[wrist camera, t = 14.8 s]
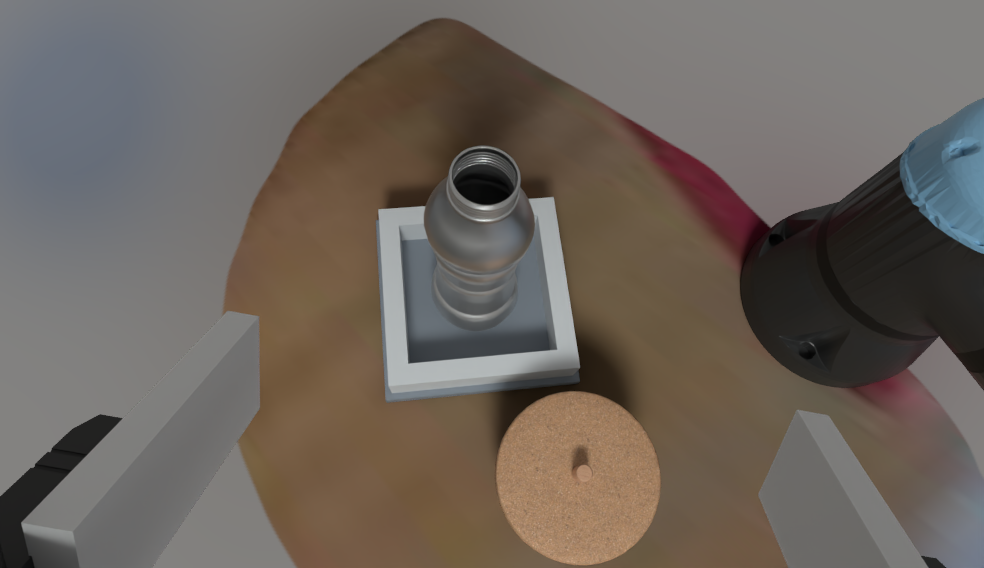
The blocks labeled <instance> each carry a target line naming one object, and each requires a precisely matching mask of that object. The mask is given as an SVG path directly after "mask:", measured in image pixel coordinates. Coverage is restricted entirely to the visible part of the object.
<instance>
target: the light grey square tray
mask: <svg viewBox="0 0 984 568" xmlns="http://www.w3.org/2000/svg"><path fill="white" fill-rule="evenodd" d="M529 202H530V204H531V207H532V210H533V213H534V218H535V230H534V235H533V238H532V241H531V244H530V246H529V248H528V250H527V251H526V253H525V255H524V256H523V257H522V259H521V260H520V262H519V263H518V264H517V267H516V269H515V274H516V278H517V286H518V296H517V301H516V304H515V306H514V308H513V310H512V312H511V313H510V314H509V315H508V316H507V317H506V319H505V320H503V321H502V322H501V323H500V324H498V325H497V326H495V327H493V328H491V329H488V330H484V331H468V330H463V329H460V328H458V327H456V326H454V325H452V324H451V323H449V322H448V321H447V320H446V319H445V318H444V317H443V316H442V314H441V313H440V312H439V310H438V309H437V307H436V305H435V303H434V301H433V298H432V294H431V282H432V277H433V273H434V270H435V268H436V265H437V260H436V256H435V253H434V251H433V249H432V247H431V245H430V243H429V241H428V238H427V235H426V231H425V227H424V211H425V206H420V207H405V208H391V209H378V210H379V220H376V232H377V250H378V268H379V286H380V305H381V323H382V341H383V359H384V378H385V396H386V402H387V403H388V402H398V401H408V400H418V399H428V398H438V397H448V396H458V395H468V394H478V393H488V392H499V391H509V390H519V389H529V388H539V387H549V386H559V385H569V384H578V383H579V382H580V378H579V371H578V370H579V369H580V362H579V356H578V349H577V343H576V337H575V330H574V324H573V318H572V311H571V305H570V299H569V292H568V286H567V279H566V273H565V267H564V260H563V254H562V248H561V241H560V235H559V229H558V222H557V216H556V210H555V203H554V197H548V198H534V199H529Z"/></svg>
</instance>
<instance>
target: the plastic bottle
mask: <svg viewBox="0 0 984 568" xmlns="http://www.w3.org/2000/svg"><path fill="white" fill-rule="evenodd" d="M520 184H521V177H520V171H519V168H518V166H517V164H516V162H515V161H514V160H513V159H512V157H511V156H509V155H508V154H507V153H506V152H504V151H502V150H500V149H498V148H495V147H491V146H474V147H471V148H468V149H466V150H464V151H462V152H461V153H459V154H458V155H457V156H456V157H455V159H454V160H453V162H452V164H451V166H450V169H449V174H448V177H446V178H445V179H443V180H442V181H441V182H440V183H439V184H438V185H437V186H436V188H435V189H434V191H433V192H432V194H431V195H430V197H429V199H428V201H427V204H426V206H425V211H424V227H425V231H426V235H427V238H428V241H429V243H430V245H431V247H432V249H433V251H434V253H435V256H436V260H437V265H436V268H435V270H434V273H433V277H432V282H431V294H432V298H433V301H434V303H435V305H436V307H437V309H438V310H439V312H440V313H441V314H442V316H443V317H444V318H445V319H446V320H447V321H448V322H449V323H451V324H452V325H454V326H456V327H458V328H460V329H463V330H468V331H484V330H488V329H491V328H493V327H495V326H497V325H498V324H500V323H501V322H502V321H503V320H505V319H506V317H507V316H508V315H509V314H510V313H511V312H512V310H513V308H514V306H515V304H516V301H517V296H518V286H517V278H516V274H515V269H516V267H517V264H518V263H519V262H520V260H521V259H522V257H523V256H524V255H525V253H526V251H527V250H528V248H529V246H530V244H531V241H532V238H533V235H534V230H535V218H534V213H533V210H532V207H531V204H530V202H529V199H528V198H527V196H526V194H525V192H524V191H523V190H522V189H521V187H520Z"/></svg>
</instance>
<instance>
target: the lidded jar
mask: <svg viewBox="0 0 984 568" xmlns="http://www.w3.org/2000/svg"><path fill="white" fill-rule="evenodd" d="M495 484H496V492H497V496H498V499H499V503H500V506H501V508H502V510H503V513H504V515H505V517H506V519H507V521H508V522H509V524H510V525H511V527H512V529H513V530H514V531H515V532H516V533H517V535H518V536H519V537H520V538H521V539H522V540H523V541H524V542H525V543H526V544H528V545H529V546H530V547H531V548H532V549H534V550H535V551H537V552H539V553H540V554H542V555H544V556H545V557H548V558H550V559H553V560H555V561H558V562H562V563H567V564H571V565H592V564H599V563H602V562H605V561H609V560H612V559H614V558H616V557H618V556H619V555H621V554H623V553H625V552H626V551H627V550H629V549H630V548H631V547H632V546H634V545H635V544H636V543H637V542H638V541H639V539H640V538H641V537H642V536H643V535H644V534H645V532H646V530H647V529H648V527H649V526H650V524H651V522H652V520H653V518H654V515H655V513H656V510H657V506H658V503H659V499H660V490H661V474H660V467H659V462H658V457H657V454H656V451H655V449H654V446H653V444H652V442H651V440H650V438H649V436H648V434H647V432H646V431H645V430H644V428H643V427H642V425H641V424H640V423H639V422H638V420H637V419H636V418H635V417H634V416H633V415H632V414H631V413H630V412H628V411H627V410H626V409H625V408H623V407H622V406H621V405H619V404H617V403H616V402H614V401H612V400H610V399H608V398H606V397H603V396H601V395H598V394H594V393H589V392H585V391H566V392H559V393H555V394H551V395H548V396H546V397H543V398H541V399H539V400H537V401H535V402H534V403H532V404H531V405H529V406H528V407H526V408H525V409H524V410H523V411H522V412H521V413H520V414H519V415H518V416H517V417H516V418H515V419H514V421H513V422H512V423H511V425H510V426H509V427H508V429H507V431H506V433H505V435H504V437H503V438H502V441H501V444H500V447H499V449H498V453H497V458H496V464H495Z"/></svg>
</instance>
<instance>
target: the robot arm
mask: <svg viewBox="0 0 984 568" xmlns="http://www.w3.org/2000/svg"><path fill="white" fill-rule="evenodd" d="M741 296H742V303H743V307H744V311H745V314H746V317H747V319H748V322H749V324H750V326H751V328H752V330H753V332H754V333H755V335H756V337H757V338H758V340H759V341H760V342H761V344H762V345H763V346H764V348H765V349H766V350H767V351H768V352H769V353H770V354H771V355H772V356H773V357H774V358H775V359H776V360H777V361H778V362H779V363H781V364H782V365H783V366H785V367H786V368H787V369H789V370H790V371H792V372H793V373H795V374H797V375H799V376H801V377H803V378H805V379H807V380H810V381H812V382H815V383H818V384H821V385H826V386H831V387H839V388H851V387H860V386H864V385H868V384H872V383H875V382H879V381H882V380H885V379H888V378H890V377H892V376H894V375H896V374H898V373H900V372H902V371H903V370H905V369H906V368H907V367H909V366H910V365H911V364H912V363H913V362H914V361H915V360H916V359H917V358H918V357H919V356H920V355H921V354H922V353H923V352H924V351H925V350H926V349H927V348H928V347H929V346H930V345H931V344H932V343H933V342H934V341H935V340H936V338H938V337H939V336H940V337H941V338H942V340H943V341H944V342H945V343H946V345H947V346H948V347H949V348H950V349H951V350H952V352H953V353H954V354H955V355H956V356H957V357H958V359H959V360H960V361H961V362H962V364H963V365H964V366H965V367H966V369H967V370H968V371H969V373H970V374H971V375H972V376H973V378H974V379H975V380H976V381H977V383H978V384H979V385H980V386H981V388H982V389H983V390H984V98H982V99H980V100H977V101H975V102H973V103H971V104H970V105H968V106H966V107H965V108H963V109H961V110H960V111H959V112H957V113H956V114H954V115H953V116H951V117H950V118H948V119H947V120H946V121H944V122H943V123H941V124H939V125H936V126H934V127H932V128H930V129H928V130H926V131H924V132H923V133H921V134H920V135H919V136H917V137H916V138H915V139H914V140H913V141H912V142H911V143H910V144H909V146H908V148H907V149H906V150H905V151H904V152H903V153H902V154H901V155H899V156H898V157H897V158H896V159H894V160H893V161H892V162H891V163H889V164H888V165H887V166H885V167H884V168H883V169H882V170H880V171H879V172H878V173H876V174H875V175H874V176H872V177H871V178H870V179H868V180H867V181H866V182H864V183H863V184H862V185H860V186H859V187H858V188H857V189H855V190H854V191H852V192H851V193H850V194H849V195H847V196H846V197H845V198H844V199H842V200H841V201H840V202H837V203H833V204H829V205H825V206H822V207H817V208H813V209H809V210H805V211H801V212H798V213H795V214H793V215H791V216H789V217H787V218H785V219H783V220H782V221H780V222H779V223H777V224H776V225H774V226H773V227H772V228H771V229H770V230H768V231H767V232H766V233H765V234H764V235H763V236H762V237H761V238H760V239H758V241H757V242H756V243H755V244H754V246H753V247H752V248H751V250H750V252H749V254H748V256H747V258H746V260H745V263H744V266H743V270H742V276H741ZM259 409H260V377H259V316H254V315H249V314H243V313H237V312H231V311H227V312H226V313H225V314H224V315H223V316H222V317H221V318H220V319H219V320H218V321H217V322H216V324H214V326H212V328H210V330H209V331H208V332H207V333H206V334H205V335H204V336H203V337H202V338H201V339H200V340H199V341H198V342H197V343H196V344H195V345H194V346H193V347H192V348H191V349H190V350H189V351H188V352H187V353H186V354H185V355H184V356H183V357H182V358H181V359H180V360H179V361H178V362H177V364H175V365H174V366H173V367H172V368H171V370H170V371H169V372H168V373H167V374H166V375H165V376H164V377H163V378H162V379H161V380H160V381H159V382H158V383H157V384H156V385H155V386H154V387H153V388H152V389H151V390H150V391H149V392H148V393H147V394H146V395H145V396H144V397H143V398H142V400H140V401H139V402H138V403H137V405H136V406H134V408H133V409H132V410H131V411H130V412H129V413H128V414H127V415H126V416H125V417H124V418H118V417H112V416H106V415H98V416H96V417H94V418H92V419H90V420H89V421H87V422H85V423H83V424H81V425H79V426H77V427H75V428H73V429H72V430H71V431H70V432H69V433H68V434H66V435H65V436H64V437H63V438H62V439H61V440H60V441H59V442H58V443H57V444H56V445H55V446H54V447H53V448H52V450H51V452H47V453H46V454H45V455H44V456H43V457H42V458H41V459H40V460H39V461H38V462H37V463H36V464H35V467H34V468H30V469H29V470H28V471H27V472H26V473H25V474H24V475H23V476H22V477H21V478H20V479H19V480H17V482H16V483H14V484H13V485H12V486H11V487H10V488H9V489H8V490H7V491H6V492H5V493H4V494H3V495H1V496H0V568H152V567H153V566H154V564H155V563H156V561H157V560H158V558H159V557H160V555H161V554H162V552H163V551H164V549H165V548H166V546H167V545H168V543H169V542H170V540H171V539H172V537H173V536H174V534H175V533H176V532H177V530H178V529H179V527H180V526H181V524H182V523H183V521H184V520H185V518H186V517H187V515H188V514H189V512H190V511H191V509H192V508H193V506H194V505H195V503H196V502H197V500H198V499H199V497H200V496H201V495H202V493H203V492H204V490H205V489H206V487H207V486H208V484H209V483H210V481H211V480H212V478H213V477H214V475H215V474H216V472H217V471H218V469H219V468H220V466H221V465H222V463H223V462H224V460H225V459H226V457H227V456H228V455H229V453H230V452H231V450H232V449H233V447H234V446H235V444H236V443H237V441H238V440H239V438H240V437H241V435H242V434H243V432H244V431H245V429H246V428H247V426H248V425H249V423H250V422H251V420H252V419H253V417H254V416H255V415H256V413H257V412H258V410H259ZM758 496H759V498H760V500H761V503H762V505H763V508H764V510H765V512H766V515H767V517H768V520H769V522H770V524H771V527H772V529H773V532H774V534H775V536H776V539H777V541H778V544H779V546H780V548H781V551H782V553H783V556H784V558H785V560H786V563H787V565H788V568H946V567H945V566H944V565H943V564H942V563H940V562H939V561H938V560H937V559H936V558H930V557H925V556H920V554H919V553H918V551H917V550H916V548H915V546H914V545H913V543H912V542H911V540H910V539H909V537H908V536H907V534H906V533H905V531H904V530H903V528H902V527H901V525H900V524H899V522H898V521H897V519H896V518H895V516H894V515H893V513H892V512H891V510H890V508H889V507H888V505H887V504H886V502H885V501H884V499H883V498H882V496H881V495H880V493H879V492H878V490H877V489H876V487H875V486H874V484H873V483H872V481H871V480H870V478H869V477H868V475H867V473H866V472H865V470H864V469H863V467H862V466H861V464H860V463H859V461H858V460H857V458H856V457H855V455H854V454H853V452H852V451H851V449H850V448H849V446H848V445H847V443H846V442H845V440H844V438H843V437H842V435H841V434H840V432H839V431H838V429H837V428H836V426H835V425H834V423H833V422H832V420H831V419H830V417H829V416H828V415H824V414H818V413H812V412H807V411H801V410H796V413H795V415H794V417H793V419H792V421H791V424H790V426H789V428H788V430H787V433H786V435H785V437H784V439H783V441H782V444H781V446H780V448H779V450H778V452H777V455H776V457H775V459H774V461H773V463H772V466H771V468H770V470H769V472H768V474H767V477H766V479H765V481H764V483H763V486H762V488H761V490H760V492H759V494H758Z"/></svg>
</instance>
